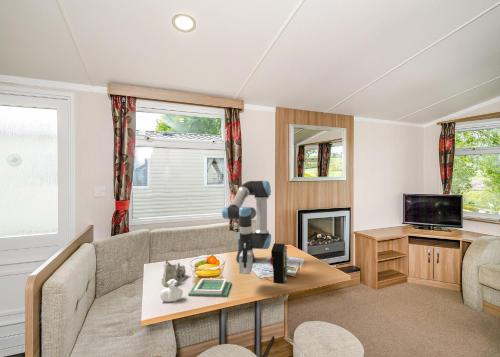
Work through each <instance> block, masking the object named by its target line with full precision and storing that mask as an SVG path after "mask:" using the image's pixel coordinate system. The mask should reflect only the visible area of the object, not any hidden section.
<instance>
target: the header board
mask: <svg viewBox="0 0 500 357" xmlns="http://www.w3.org/2000/svg"><path fill="white" fill-rule="evenodd" d="M231 285H232V281H227V279H226V278H215V277H213V278H201V279H200V280H197V281H196V282H195V284H194V285H193V286H192V288H191V290H190V291H189V292H188V296H190V297H215V298H216V297H219V298H223V297H224V298H227V296H228V294H229V292H230V289H231Z"/></svg>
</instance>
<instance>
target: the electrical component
mask: <svg viewBox="0 0 500 357" xmlns="http://www.w3.org/2000/svg"><path fill="white" fill-rule="evenodd" d="M287 250H288V246H287V245H286V244H285V243H273V245H272V248H271V252H270V253H271V254H270V255H271V256H270V257H269V258H270V264H271V266H272V273H273V276H272V277H273V284H285V282H287V281H288V278H287V273H288V272H287V271H288V252H287Z"/></svg>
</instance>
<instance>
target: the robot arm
mask: <svg viewBox="0 0 500 357" xmlns="http://www.w3.org/2000/svg"><path fill="white" fill-rule="evenodd" d="M235 194H236V195H235V196H234V198H233V199H232V201H231V202H230V204H229V206H226V207H223V208H222V210H221V216H222V218H223V219H225V220H238V224H239V225H238V226H239V227H238V230H239V233H238V236H237V242H238V243H237V248H238V249H237V250H238V251H237V253H236V258H235V259H236V260H235V261H236V262H237V263H238V264H239V255H240V254H241V252H242V250H243V257H242V261H241V262H243V273H248V264H247V251H248V250H252V251H253V249H260V250H267V249H270V246H271V241H272V234H271V233H270V231H269V230H268V199H269V198H270V196H271V195H272V190H271V185H270V182H269V181H267V180H249V181H246V182H244V183H243V184H241V185H240V186H239V188H238V189H237V193H235ZM249 196H254V197H253V198H254V199H255V200H256V201H255V202H256V203H255V204H256V206H255V207H256V208H255V207H252V206H251V207H250V206H243V204H244V203H245V200H246V198H248V197H249ZM255 218H256V219H255ZM253 219H255V220H256V222H255V224H256V228H255V230H254V232H253V225H252V220H253ZM252 253H253V263H254V262H255V261H256V257H255V254H254V252H252Z"/></svg>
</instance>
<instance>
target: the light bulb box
mask: <svg viewBox="0 0 500 357" xmlns="http://www.w3.org/2000/svg"><path fill="white" fill-rule="evenodd" d="M252 250H253V249H252ZM252 250H248V251H247V264H248V273H243V262H241V261H242V257H243V250H242V252H241V254H240V255H239V263H238V265H239V266H238V271H239V272H238V273H239V275H240V274H241V275H250V274H251V272H252V270H253V268H254V267H253V263H254V262H253V254H254V252H253V251H252ZM252 252H253V253H252Z"/></svg>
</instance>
